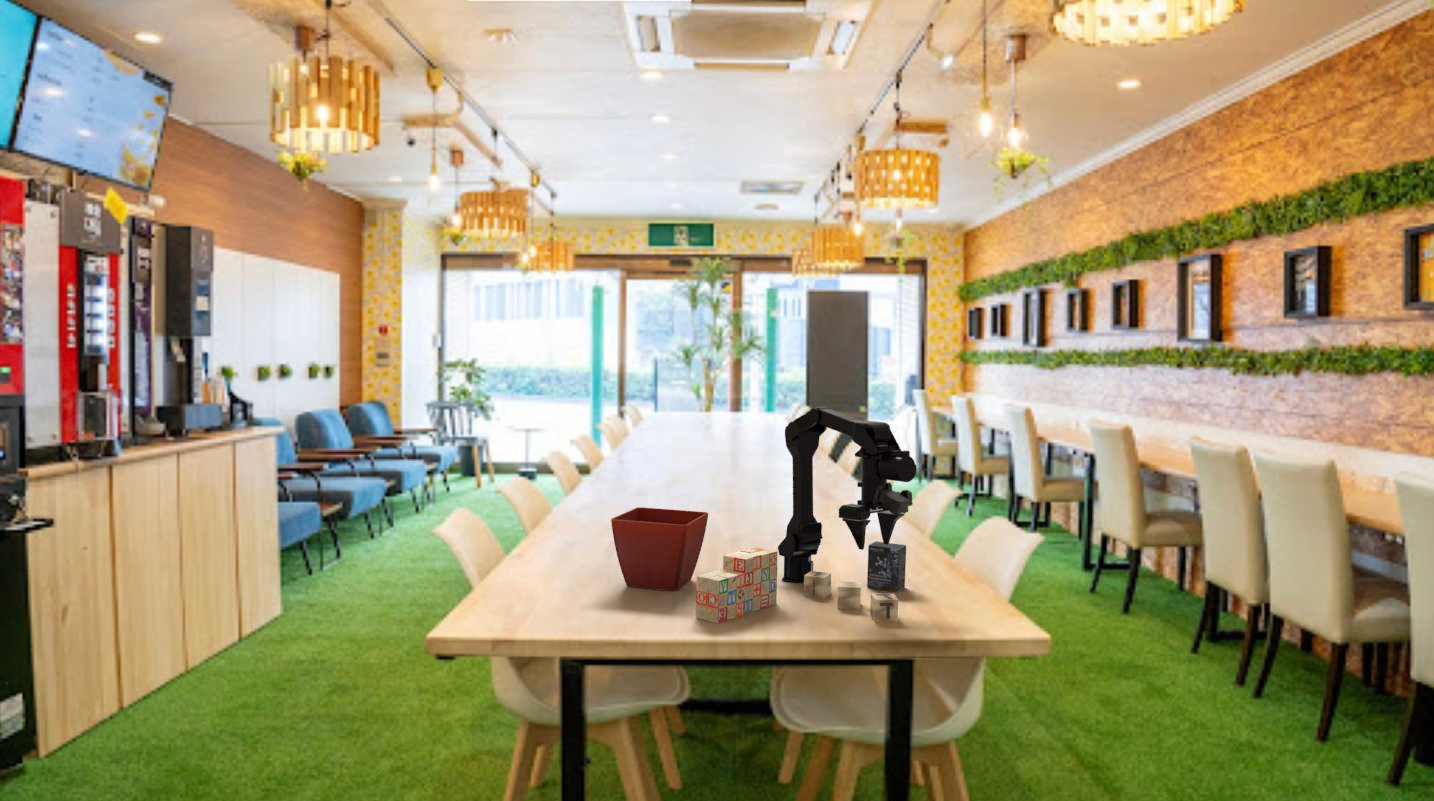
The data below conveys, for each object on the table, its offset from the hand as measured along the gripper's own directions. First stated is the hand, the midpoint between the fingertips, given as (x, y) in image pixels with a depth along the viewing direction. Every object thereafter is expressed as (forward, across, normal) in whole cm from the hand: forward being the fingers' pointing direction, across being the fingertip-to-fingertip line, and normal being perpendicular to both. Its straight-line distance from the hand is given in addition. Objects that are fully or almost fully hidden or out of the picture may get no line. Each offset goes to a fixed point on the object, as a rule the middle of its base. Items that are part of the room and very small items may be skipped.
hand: (873, 546), depth 216 cm
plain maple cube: (+13, -5, +3) cm, 14 cm away
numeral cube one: (+13, -3, +14) cm, 19 cm away
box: (+13, +15, +8) cm, 21 cm away
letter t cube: (+14, -7, -8) cm, 17 cm away
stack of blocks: (+13, -27, +17) cm, 34 cm away
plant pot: (+12, -24, +46) cm, 53 cm away
